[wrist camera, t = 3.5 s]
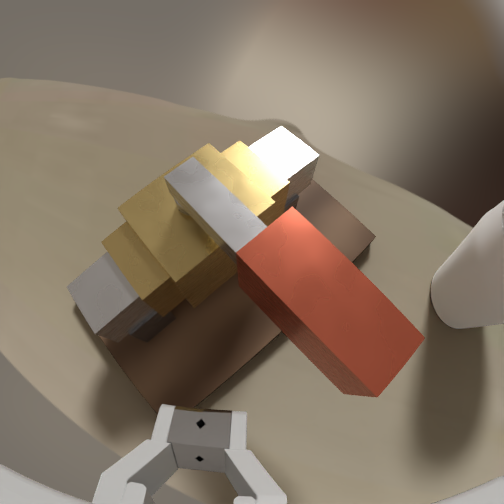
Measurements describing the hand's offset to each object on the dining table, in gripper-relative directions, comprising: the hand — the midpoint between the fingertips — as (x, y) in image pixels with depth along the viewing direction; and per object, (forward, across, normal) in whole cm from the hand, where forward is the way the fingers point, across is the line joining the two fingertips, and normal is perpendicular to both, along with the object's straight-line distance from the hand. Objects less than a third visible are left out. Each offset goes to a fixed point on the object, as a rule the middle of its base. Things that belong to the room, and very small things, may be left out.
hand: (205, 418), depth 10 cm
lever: (+7, -2, -2) cm, 8 cm away
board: (+17, +1, +3) cm, 17 cm away
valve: (+16, +2, +1) cm, 16 cm away
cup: (+16, -21, +4) cm, 27 cm away
